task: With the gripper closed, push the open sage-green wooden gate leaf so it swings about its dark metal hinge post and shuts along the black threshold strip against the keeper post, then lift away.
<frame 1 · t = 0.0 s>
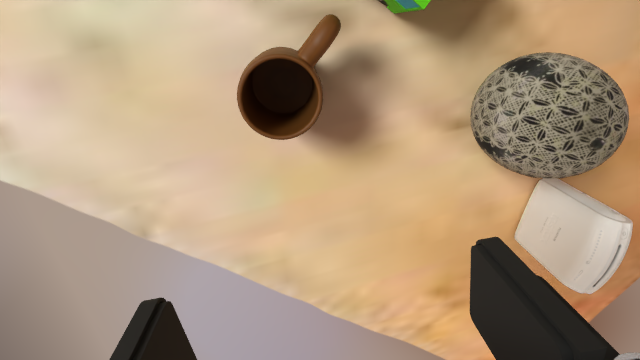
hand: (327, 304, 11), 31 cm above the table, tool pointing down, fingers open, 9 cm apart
mug: (294, 66, 38), on the table
decorative egg: (498, 101, 41), on the table
photo printer: (535, 208, 48), on the table
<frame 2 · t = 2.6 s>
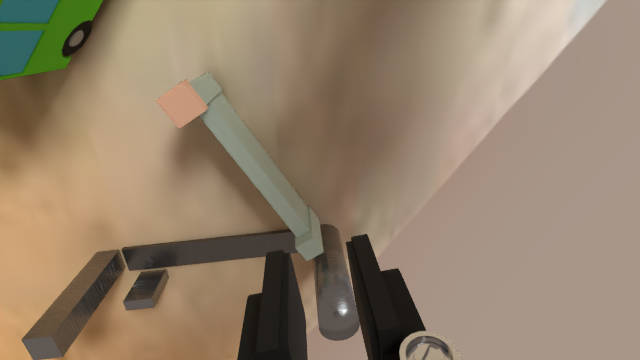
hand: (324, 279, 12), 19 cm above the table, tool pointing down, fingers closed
gate posts: (325, 236, 34), on the table
gate: (257, 172, 26), point 4 cm above the table, hinge at -62.0°
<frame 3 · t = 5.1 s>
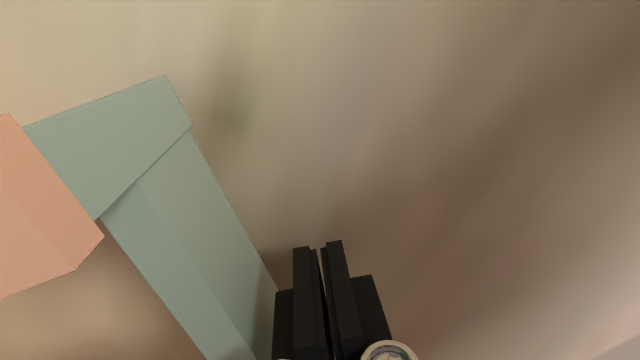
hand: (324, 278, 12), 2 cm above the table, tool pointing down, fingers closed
gate: (241, 354, 10), point 4 cm above the table, hinge at -55.7°, touching gripper
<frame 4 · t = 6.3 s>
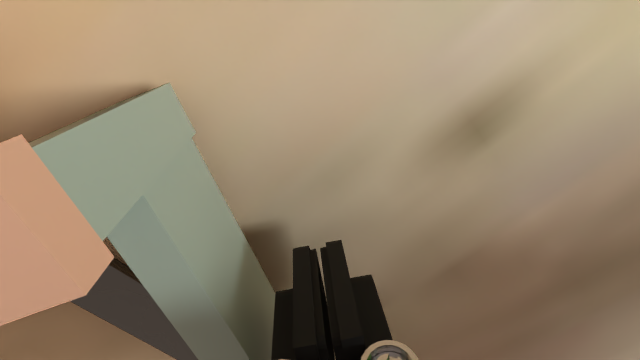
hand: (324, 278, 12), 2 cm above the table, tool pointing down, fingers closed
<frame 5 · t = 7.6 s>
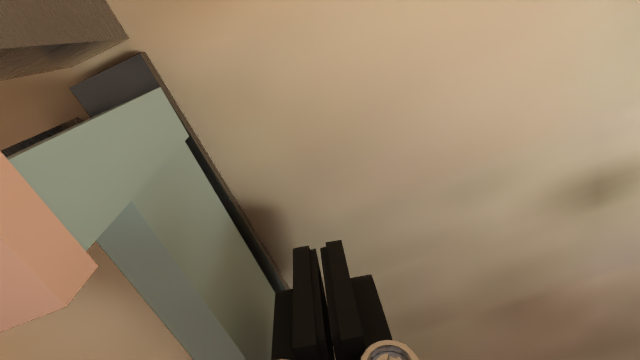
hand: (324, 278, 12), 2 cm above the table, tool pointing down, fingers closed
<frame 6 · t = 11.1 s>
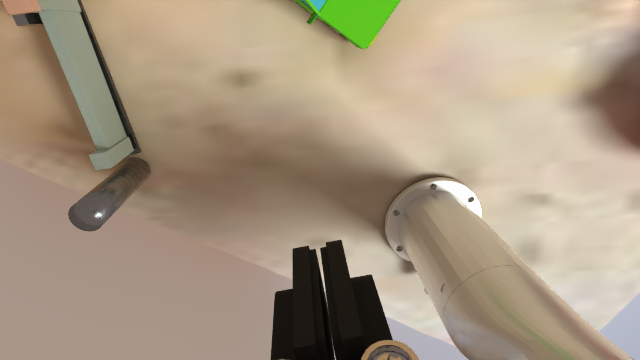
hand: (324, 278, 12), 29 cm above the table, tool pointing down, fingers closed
gate posts: (137, 169, 40), on the table
gate: (79, 84, 32), point 4 cm above the table, hinge at -1.7°
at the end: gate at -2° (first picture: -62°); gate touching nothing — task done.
